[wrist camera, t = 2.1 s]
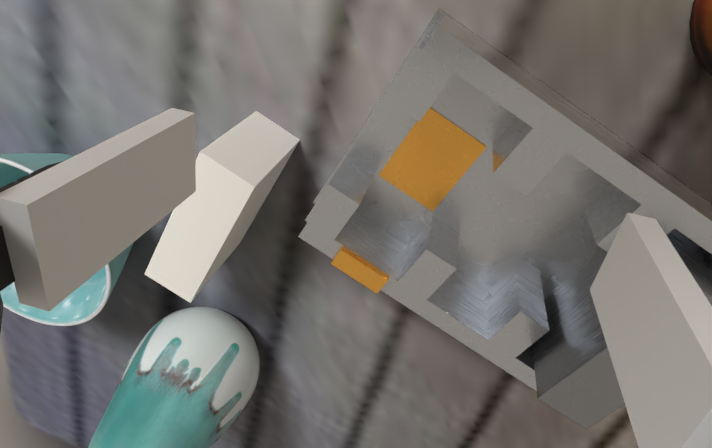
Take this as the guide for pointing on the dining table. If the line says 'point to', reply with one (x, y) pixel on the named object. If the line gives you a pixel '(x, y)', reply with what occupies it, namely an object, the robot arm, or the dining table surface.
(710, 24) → the mug
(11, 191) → the robot arm
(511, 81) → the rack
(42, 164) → the bowl
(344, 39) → the dining table surface
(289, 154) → the block
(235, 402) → the vase
